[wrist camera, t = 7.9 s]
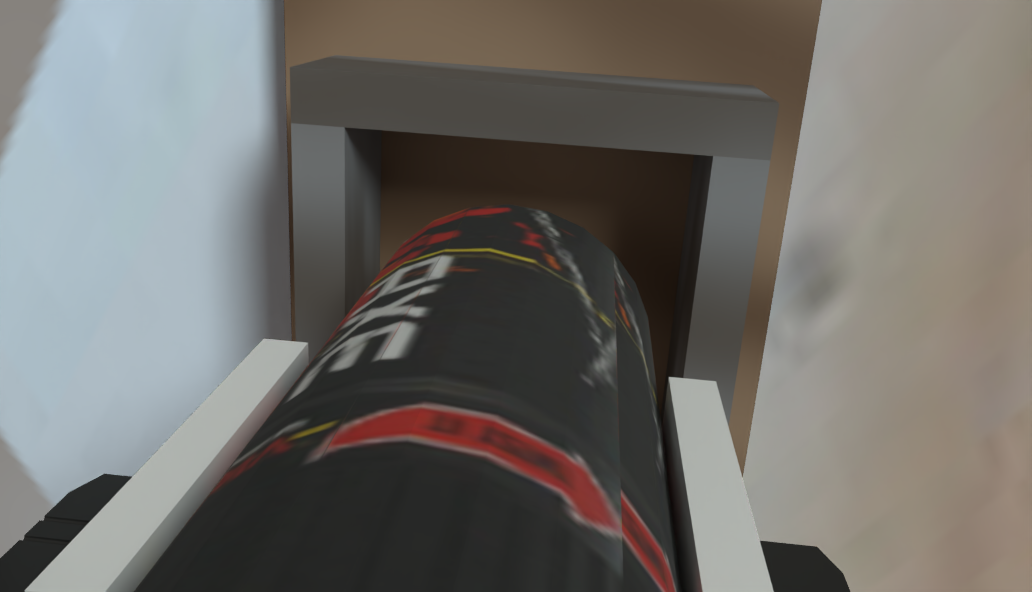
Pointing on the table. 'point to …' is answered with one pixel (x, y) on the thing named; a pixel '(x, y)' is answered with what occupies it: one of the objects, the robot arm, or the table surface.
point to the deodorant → (457, 434)
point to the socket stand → (557, 151)
